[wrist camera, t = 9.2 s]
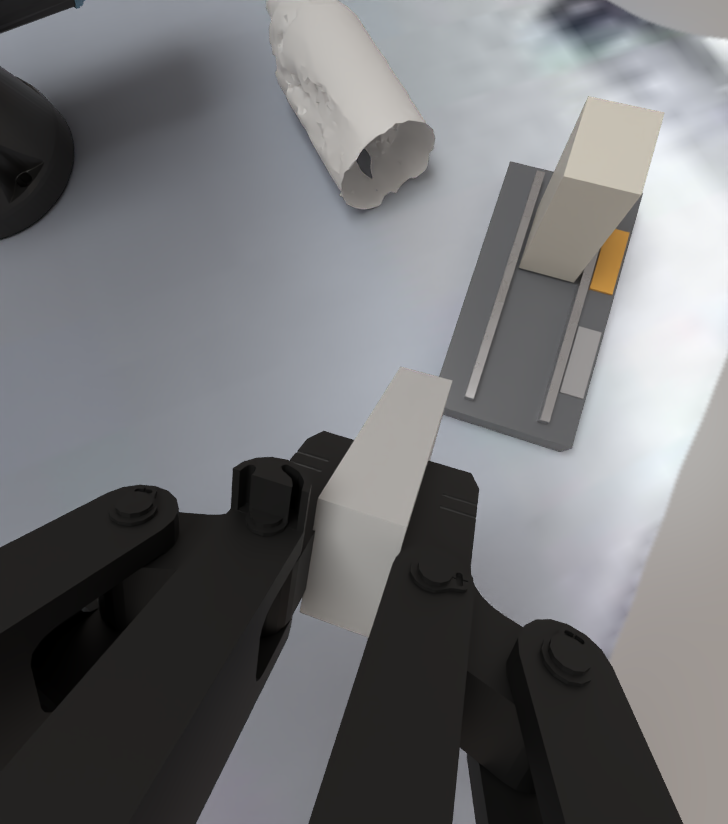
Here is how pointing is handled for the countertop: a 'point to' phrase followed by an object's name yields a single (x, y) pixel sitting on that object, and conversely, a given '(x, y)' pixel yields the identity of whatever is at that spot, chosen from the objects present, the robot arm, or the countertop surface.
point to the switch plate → (529, 326)
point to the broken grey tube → (347, 98)
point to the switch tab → (591, 187)
